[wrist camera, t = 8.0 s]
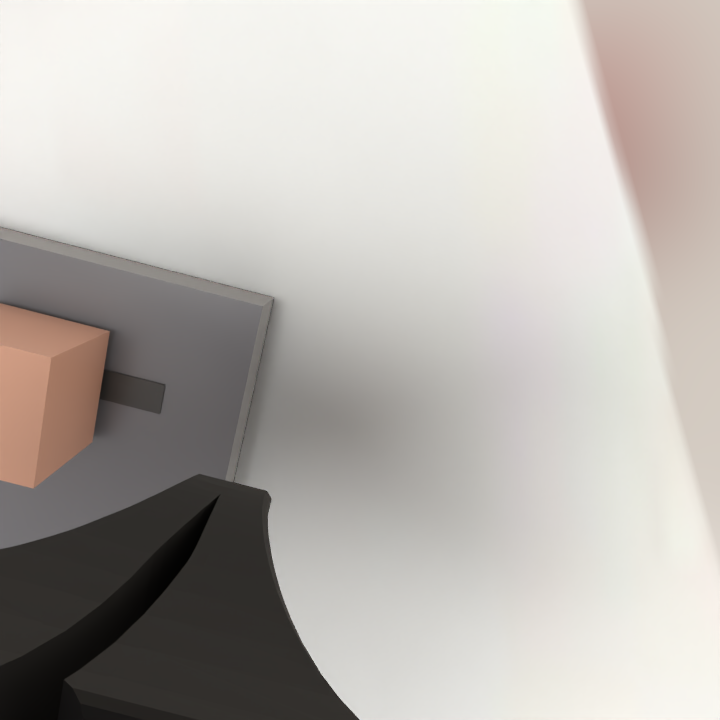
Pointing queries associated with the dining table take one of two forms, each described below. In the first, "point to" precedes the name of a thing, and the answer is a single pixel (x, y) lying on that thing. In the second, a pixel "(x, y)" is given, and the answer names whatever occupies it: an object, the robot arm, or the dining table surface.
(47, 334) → the fader terracotta
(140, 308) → the console
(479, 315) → the dining table surface
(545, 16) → the dining table surface
